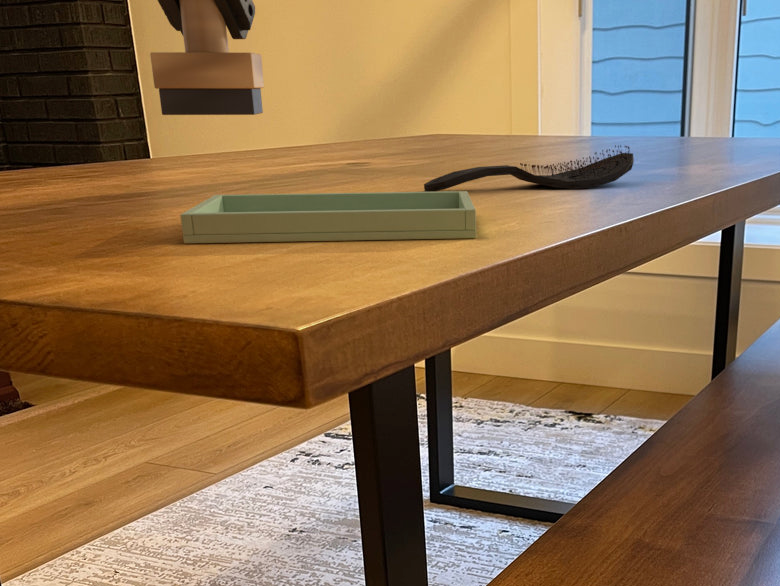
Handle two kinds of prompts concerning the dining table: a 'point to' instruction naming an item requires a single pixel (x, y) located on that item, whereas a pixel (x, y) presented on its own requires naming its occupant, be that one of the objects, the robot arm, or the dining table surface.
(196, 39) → the scrub brush
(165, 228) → the dining table surface
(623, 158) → the hairbrush
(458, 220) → the tray
